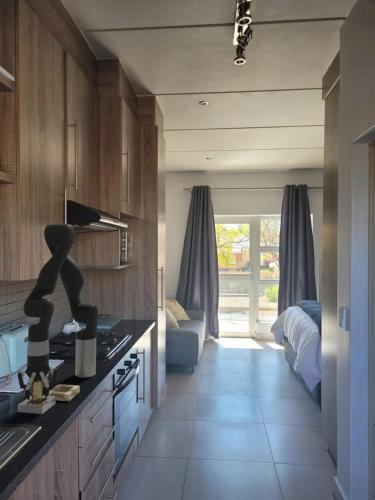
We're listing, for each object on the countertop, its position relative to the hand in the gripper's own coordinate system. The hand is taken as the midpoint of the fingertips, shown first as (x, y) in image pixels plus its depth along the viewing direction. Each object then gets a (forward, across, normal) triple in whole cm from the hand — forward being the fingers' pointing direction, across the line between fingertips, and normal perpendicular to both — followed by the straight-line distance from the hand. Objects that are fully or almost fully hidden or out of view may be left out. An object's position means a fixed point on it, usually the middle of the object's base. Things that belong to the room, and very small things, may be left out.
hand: (37, 397), depth 134 cm
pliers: (+4, 0, +29) cm, 29 cm away
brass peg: (+3, 0, 0) cm, 3 cm away
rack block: (+3, +10, +8) cm, 13 cm away
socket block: (+3, 0, 0) cm, 3 cm away
